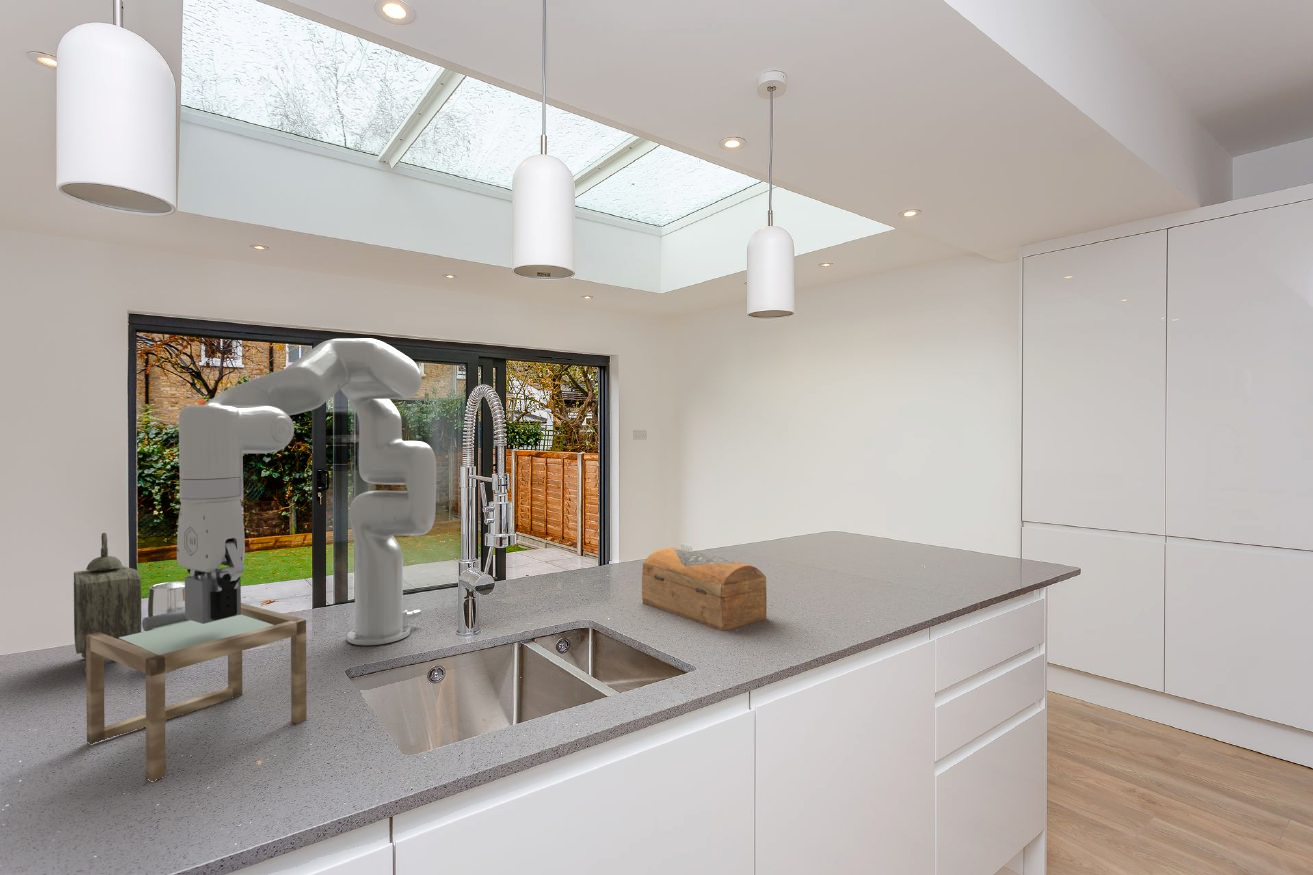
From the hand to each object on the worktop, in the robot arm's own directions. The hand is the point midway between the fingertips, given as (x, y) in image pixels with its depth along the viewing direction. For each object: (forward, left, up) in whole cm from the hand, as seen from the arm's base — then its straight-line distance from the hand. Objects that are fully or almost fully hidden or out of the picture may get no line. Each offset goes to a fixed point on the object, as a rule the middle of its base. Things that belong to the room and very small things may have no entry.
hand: (213, 613), depth 92 cm
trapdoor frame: (0, -3, -18) cm, 18 cm away
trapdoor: (0, -5, -4) cm, 6 cm away
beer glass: (-11, -39, -18) cm, 45 cm away
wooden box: (-94, +34, -19) cm, 102 cm away
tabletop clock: (-5, -50, -18) cm, 54 cm away
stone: (0, 0, -1) cm, 1 cm away
